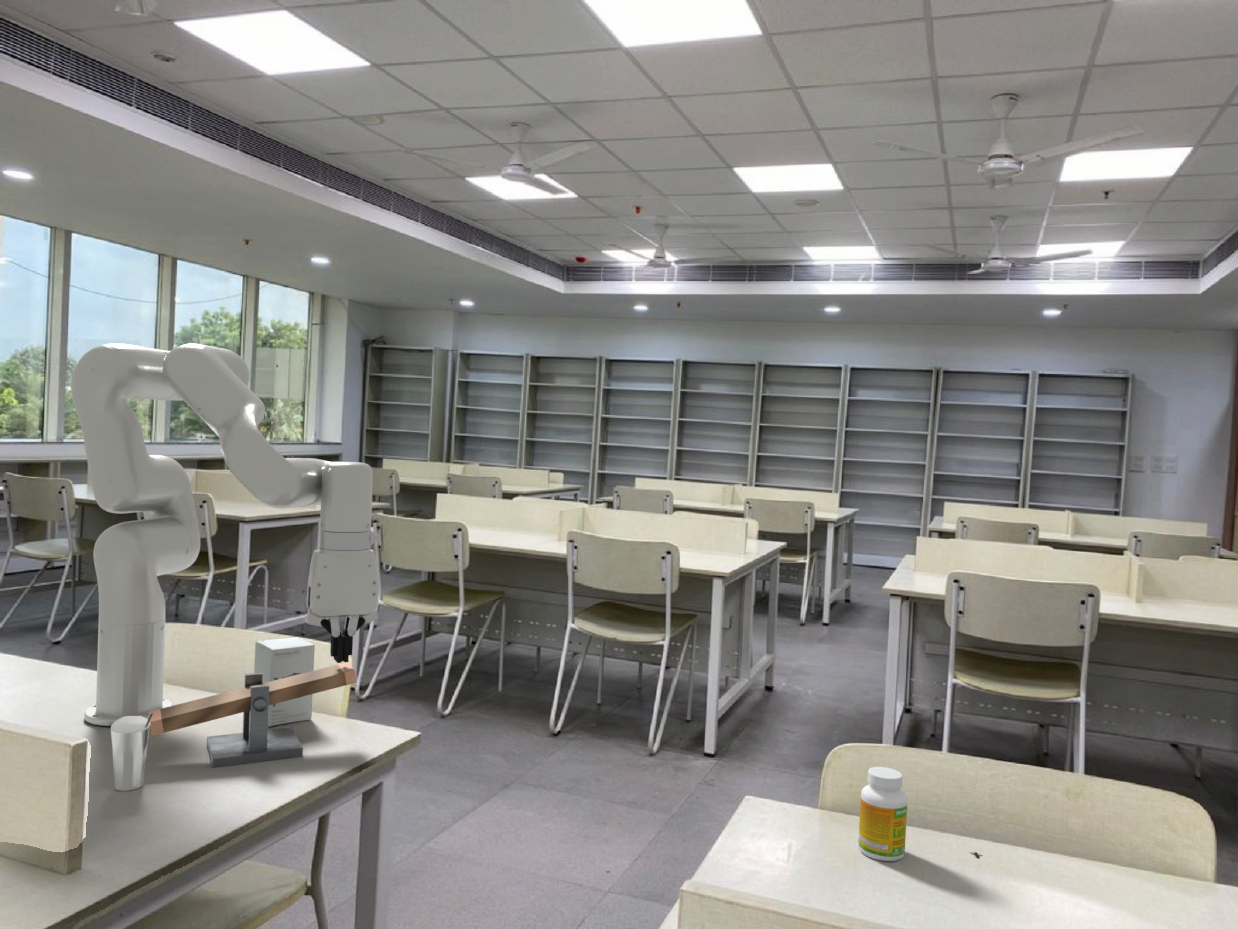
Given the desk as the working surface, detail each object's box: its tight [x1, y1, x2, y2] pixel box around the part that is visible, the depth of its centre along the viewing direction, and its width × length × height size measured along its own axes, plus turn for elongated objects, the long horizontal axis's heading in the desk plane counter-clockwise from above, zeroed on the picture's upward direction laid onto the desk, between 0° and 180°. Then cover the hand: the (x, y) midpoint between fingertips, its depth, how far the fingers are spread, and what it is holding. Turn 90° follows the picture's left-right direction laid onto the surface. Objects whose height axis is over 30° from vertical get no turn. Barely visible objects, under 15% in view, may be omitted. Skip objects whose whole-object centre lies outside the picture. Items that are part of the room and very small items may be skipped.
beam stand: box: [206, 672, 304, 768], centre depth 131 cm, size 12×10×10 cm
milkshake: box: [110, 713, 153, 792], centre depth 116 cm, size 5×5×10 cm
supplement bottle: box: [857, 766, 908, 862], centre depth 107 cm, size 5×5×10 cm
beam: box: [149, 661, 357, 737], centre depth 131 cm, size 28×5×2 cm, turn 119°
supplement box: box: [253, 636, 316, 728], centre depth 146 cm, size 7×7×13 cm
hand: (341, 660), depth 137 cm, fingers closed
